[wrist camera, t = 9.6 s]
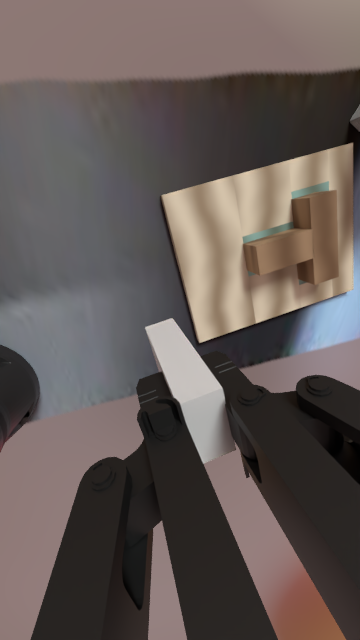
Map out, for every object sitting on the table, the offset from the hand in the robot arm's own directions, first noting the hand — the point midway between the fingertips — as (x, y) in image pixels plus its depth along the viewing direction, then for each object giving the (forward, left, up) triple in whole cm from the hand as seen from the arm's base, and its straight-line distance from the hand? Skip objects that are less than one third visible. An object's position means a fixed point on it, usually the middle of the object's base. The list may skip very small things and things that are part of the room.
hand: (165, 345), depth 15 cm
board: (+20, -4, -26) cm, 33 cm away
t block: (+22, -4, -25) cm, 34 cm away
